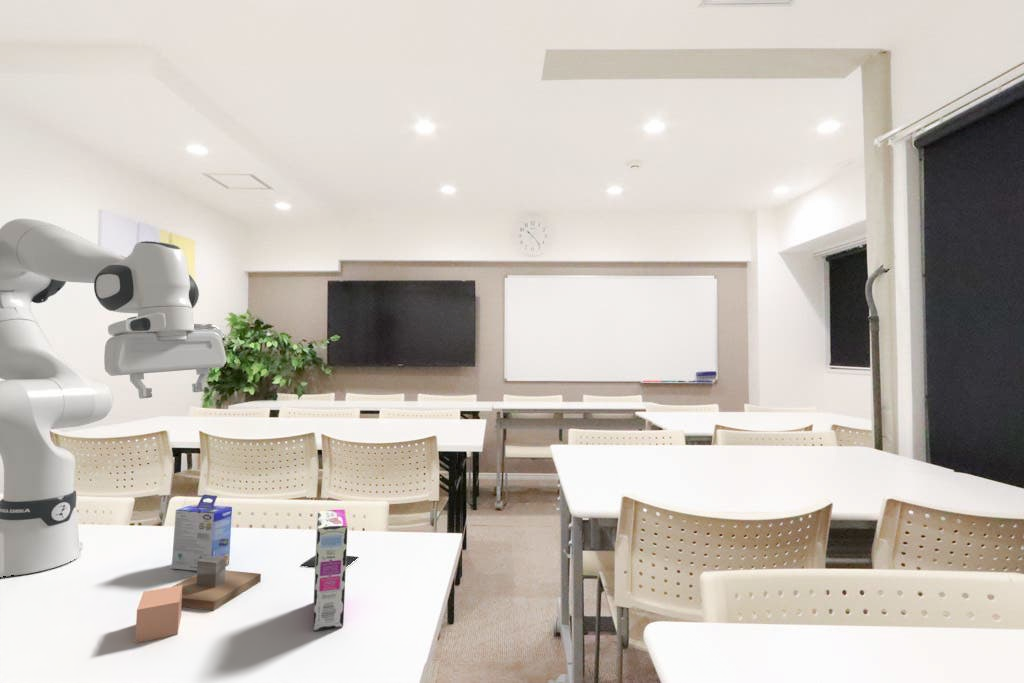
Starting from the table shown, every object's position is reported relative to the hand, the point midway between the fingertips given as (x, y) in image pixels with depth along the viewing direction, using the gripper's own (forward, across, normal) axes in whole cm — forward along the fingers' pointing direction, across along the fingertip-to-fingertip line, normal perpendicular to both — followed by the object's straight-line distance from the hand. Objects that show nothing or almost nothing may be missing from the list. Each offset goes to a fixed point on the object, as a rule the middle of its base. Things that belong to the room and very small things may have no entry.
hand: (173, 394), depth 98 cm
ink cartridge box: (+37, -6, -8) cm, 38 cm away
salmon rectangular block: (+37, +11, +12) cm, 41 cm away
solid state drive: (+41, -22, +12) cm, 48 cm away
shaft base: (+38, -1, +6) cm, 38 cm away
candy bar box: (+40, -7, +31) cm, 51 cm away
